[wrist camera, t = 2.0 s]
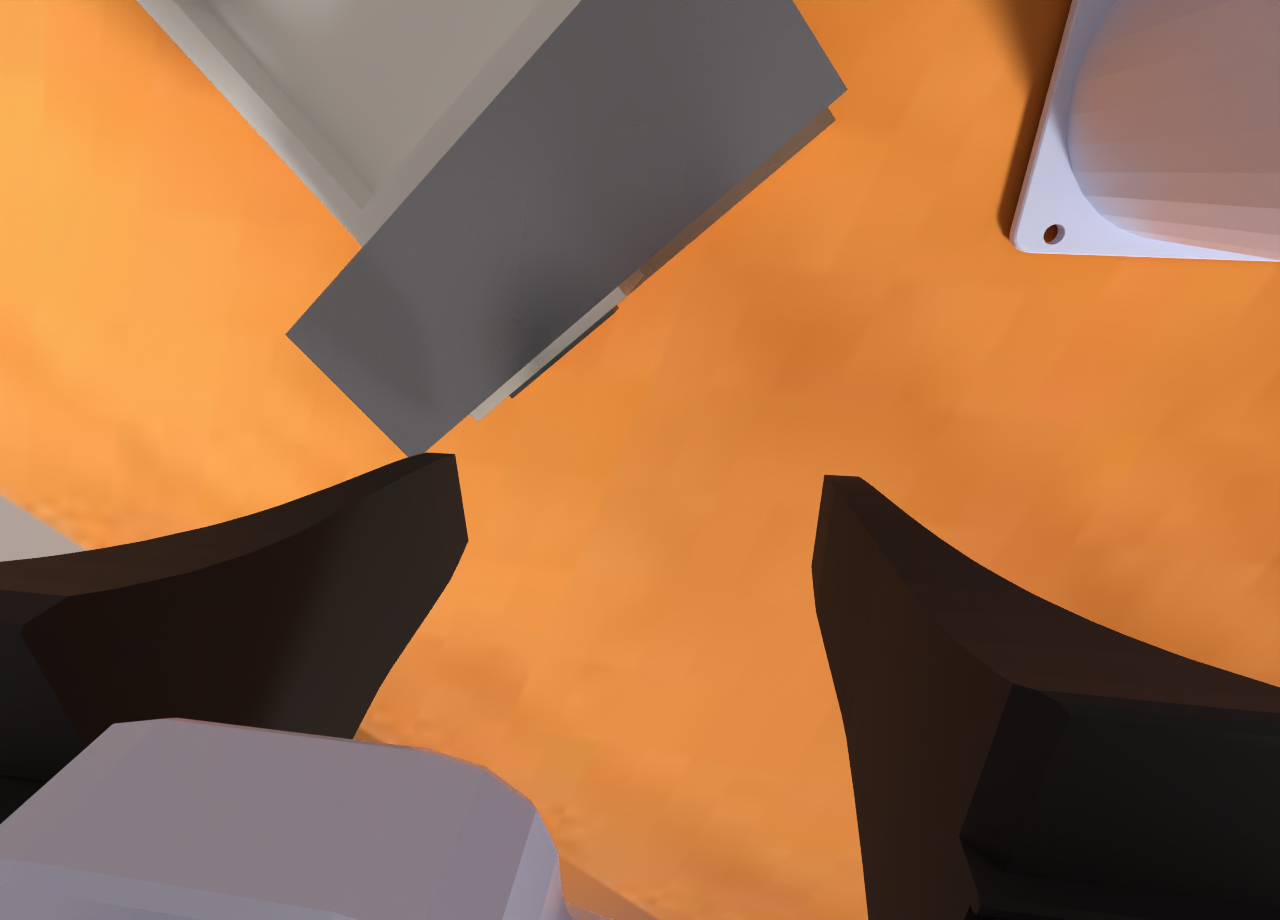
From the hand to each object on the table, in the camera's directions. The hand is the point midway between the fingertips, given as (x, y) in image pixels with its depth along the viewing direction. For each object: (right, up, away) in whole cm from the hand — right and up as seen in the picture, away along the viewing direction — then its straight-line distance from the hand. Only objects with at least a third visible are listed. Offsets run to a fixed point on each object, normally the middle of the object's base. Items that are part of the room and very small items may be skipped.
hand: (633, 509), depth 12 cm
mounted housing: (-1, +9, +7) cm, 11 cm away
